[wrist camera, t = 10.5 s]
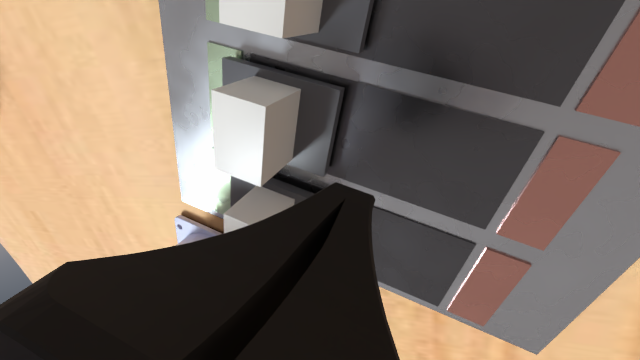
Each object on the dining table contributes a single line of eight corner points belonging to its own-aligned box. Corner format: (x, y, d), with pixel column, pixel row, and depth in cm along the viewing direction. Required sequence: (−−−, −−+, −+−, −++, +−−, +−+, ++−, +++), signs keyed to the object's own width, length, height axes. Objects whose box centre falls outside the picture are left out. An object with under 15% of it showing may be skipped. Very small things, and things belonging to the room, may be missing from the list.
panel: (531, 330, 18) (537, 356, 16) (196, 190, 23) (180, 201, 22) (900, -54, 8) (986, -66, 7) (170, -131, 14) (139, -146, 12)
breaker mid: (327, 172, 16) (297, 209, 13) (230, 137, 17) (182, 164, 14) (344, 87, 13) (312, 109, 10) (229, 56, 15) (172, 67, 12)
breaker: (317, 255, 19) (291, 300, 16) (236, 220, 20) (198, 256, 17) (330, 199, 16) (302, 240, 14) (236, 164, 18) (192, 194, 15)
